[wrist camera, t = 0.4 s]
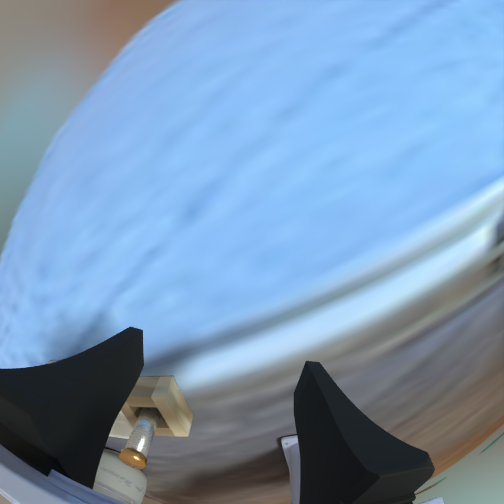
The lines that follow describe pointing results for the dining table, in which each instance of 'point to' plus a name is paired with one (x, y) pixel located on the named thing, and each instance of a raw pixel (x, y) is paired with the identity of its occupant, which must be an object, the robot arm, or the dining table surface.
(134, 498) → the teacup
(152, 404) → the beige square frame
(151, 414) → the pin
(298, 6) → the dining table surface
